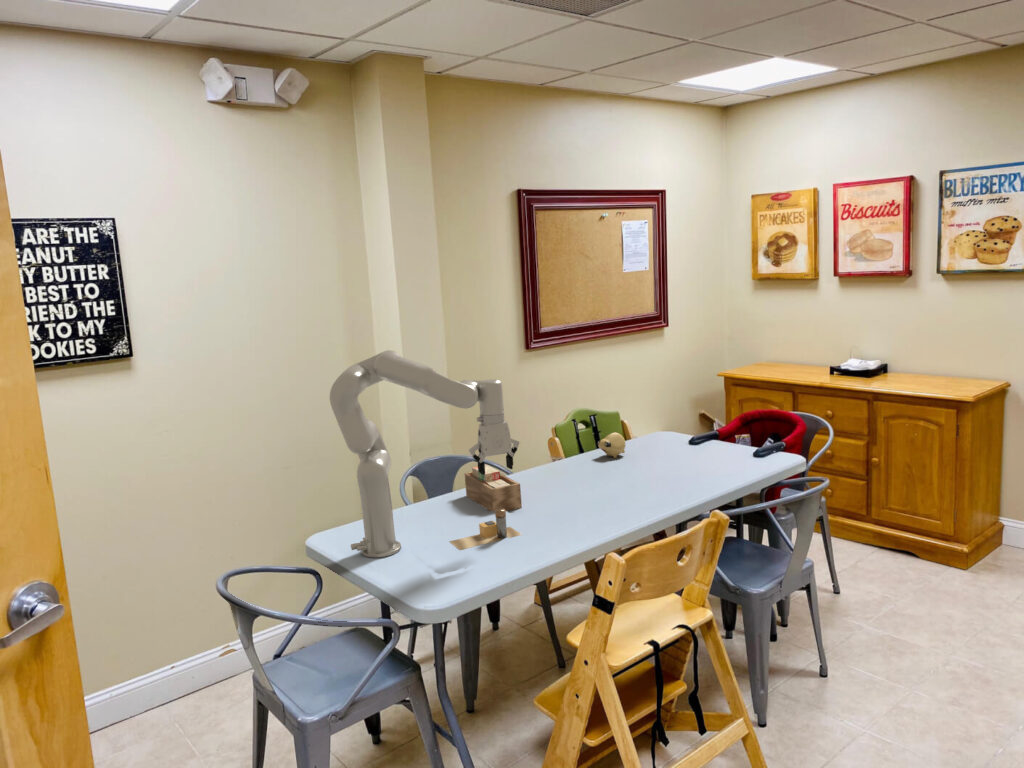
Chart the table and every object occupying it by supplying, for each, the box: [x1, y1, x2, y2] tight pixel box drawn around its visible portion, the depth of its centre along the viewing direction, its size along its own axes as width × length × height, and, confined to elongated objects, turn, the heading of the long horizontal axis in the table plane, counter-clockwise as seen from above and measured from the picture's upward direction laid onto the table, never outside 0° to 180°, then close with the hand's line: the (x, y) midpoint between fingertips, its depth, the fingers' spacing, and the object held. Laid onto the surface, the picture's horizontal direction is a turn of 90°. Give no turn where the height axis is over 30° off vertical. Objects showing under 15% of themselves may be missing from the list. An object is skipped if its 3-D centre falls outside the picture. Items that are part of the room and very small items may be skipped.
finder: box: [478, 520, 497, 537], centre depth 249 cm, size 5×4×4 cm
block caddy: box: [464, 471, 523, 513], centre depth 285 cm, size 11×26×9 cm, turn 26°
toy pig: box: [597, 431, 626, 459], centre depth 334 cm, size 10×12×11 cm
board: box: [449, 526, 522, 551], centre depth 246 cm, size 22×9×1 cm, turn 116°
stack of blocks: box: [471, 464, 510, 489], centre depth 283 cm, size 21×6×12 cm, turn 25°
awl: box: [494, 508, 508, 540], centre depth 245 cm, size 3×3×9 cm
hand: (496, 470), depth 242 cm, fingers open, 9 cm apart
